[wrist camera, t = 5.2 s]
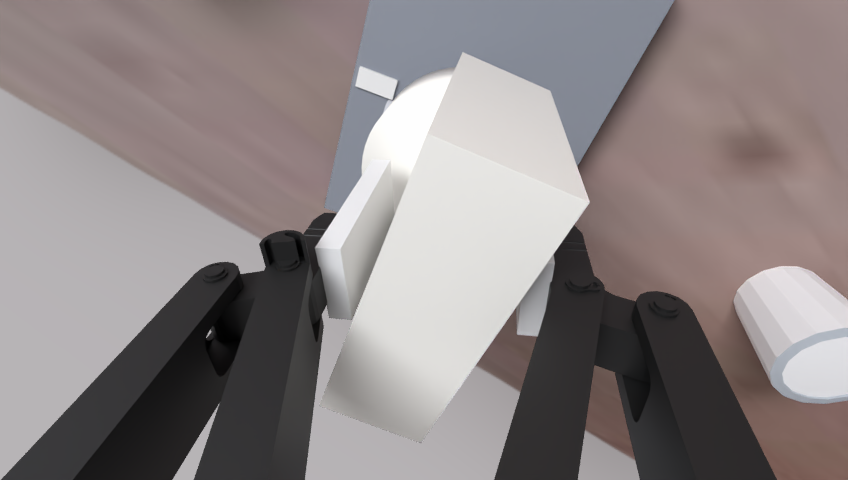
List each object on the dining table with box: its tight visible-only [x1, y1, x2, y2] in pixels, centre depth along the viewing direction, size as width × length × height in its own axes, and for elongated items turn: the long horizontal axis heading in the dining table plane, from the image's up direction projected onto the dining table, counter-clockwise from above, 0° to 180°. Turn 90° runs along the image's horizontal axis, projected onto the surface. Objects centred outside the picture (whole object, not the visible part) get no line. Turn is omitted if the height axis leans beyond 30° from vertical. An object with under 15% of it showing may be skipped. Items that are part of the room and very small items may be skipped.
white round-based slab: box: [319, 52, 590, 443], centre depth 17 cm, size 12×8×12 cm
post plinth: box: [324, 0, 674, 212], centre depth 25 cm, size 15×20×8 cm
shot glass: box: [733, 266, 848, 404], centre depth 30 cm, size 7×7×7 cm
